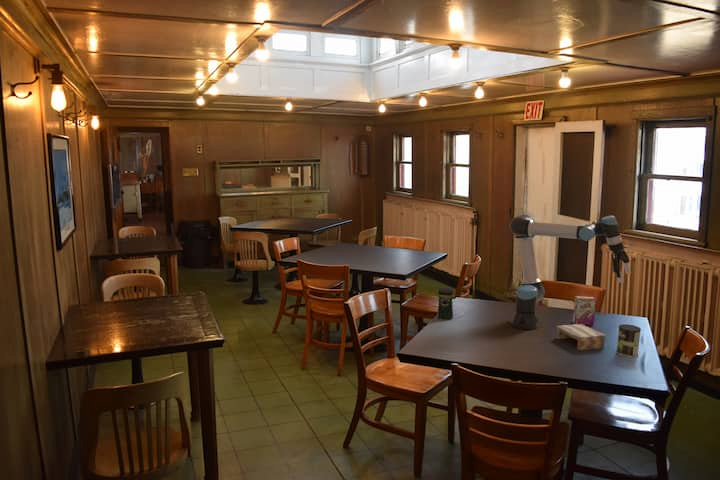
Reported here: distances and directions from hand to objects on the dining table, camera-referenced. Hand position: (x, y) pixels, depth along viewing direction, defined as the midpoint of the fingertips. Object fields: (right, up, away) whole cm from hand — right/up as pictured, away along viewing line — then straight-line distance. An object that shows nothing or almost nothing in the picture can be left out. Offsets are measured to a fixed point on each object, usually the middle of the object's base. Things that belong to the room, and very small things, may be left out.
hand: (624, 278), depth 328 cm
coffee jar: (-98, -27, +28) cm, 105 cm away
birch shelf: (-31, -34, -13) cm, 48 cm away
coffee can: (-12, -38, -28) cm, 48 cm away
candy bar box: (-16, -29, +21) cm, 39 cm away
